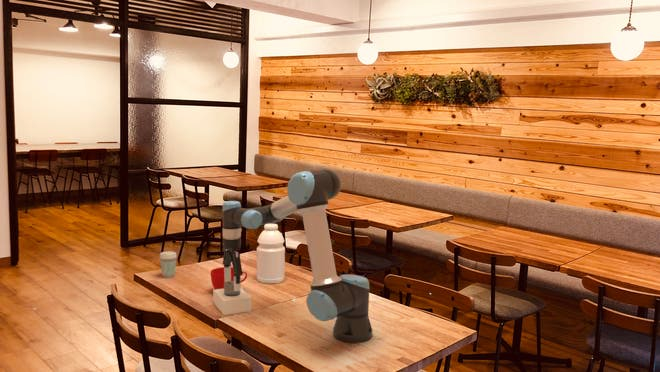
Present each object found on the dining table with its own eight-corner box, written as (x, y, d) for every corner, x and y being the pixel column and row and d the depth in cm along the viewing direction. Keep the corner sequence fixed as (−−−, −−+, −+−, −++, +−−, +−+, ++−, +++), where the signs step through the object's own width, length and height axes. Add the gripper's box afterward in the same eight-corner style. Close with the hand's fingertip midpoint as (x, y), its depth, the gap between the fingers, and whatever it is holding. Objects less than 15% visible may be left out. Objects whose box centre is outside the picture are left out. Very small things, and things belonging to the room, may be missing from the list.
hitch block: (251, 311, 244) (251, 297, 243) (223, 315, 239) (223, 301, 238) (239, 299, 258) (239, 286, 257) (213, 303, 253) (213, 289, 252)
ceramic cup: (250, 293, 266) (250, 272, 265) (213, 297, 260) (213, 276, 258) (243, 285, 278) (243, 265, 277) (208, 288, 272) (208, 268, 270)
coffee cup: (159, 274, 292) (159, 251, 291) (176, 273, 295) (176, 250, 293) (159, 279, 284) (159, 255, 282) (177, 278, 287) (177, 254, 285)
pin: (242, 307, 247) (242, 284, 245) (226, 309, 244) (226, 286, 242) (237, 302, 253) (237, 280, 252) (221, 304, 250) (221, 282, 248)
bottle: (259, 275, 295) (259, 221, 291) (286, 276, 294) (286, 222, 290) (254, 283, 281) (254, 227, 277) (282, 284, 280) (283, 228, 276)
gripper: (250, 243, 235) (250, 293, 238) (231, 231, 257) (232, 277, 260) (232, 244, 231) (232, 295, 234) (215, 232, 254) (215, 279, 256)
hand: (232, 286), depth 247 cm, fingers open, 13 cm apart
